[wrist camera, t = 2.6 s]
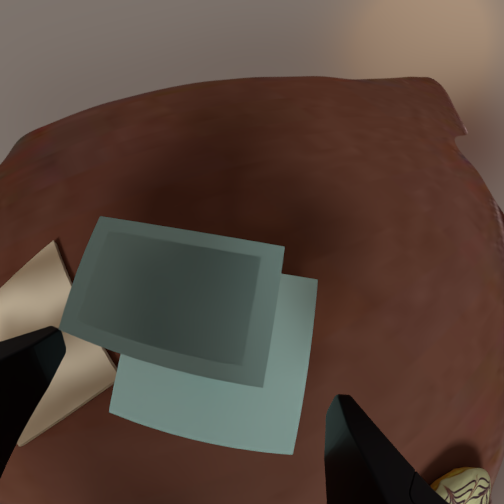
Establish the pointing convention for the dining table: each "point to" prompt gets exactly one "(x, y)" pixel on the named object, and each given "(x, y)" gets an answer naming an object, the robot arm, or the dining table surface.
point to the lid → (197, 332)
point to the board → (77, 350)
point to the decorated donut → (464, 486)
